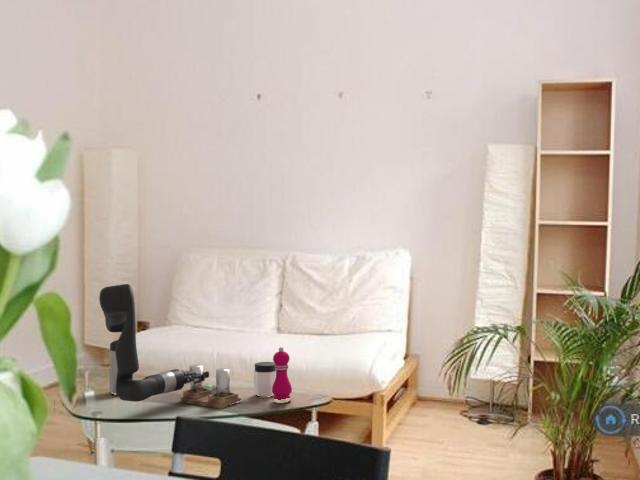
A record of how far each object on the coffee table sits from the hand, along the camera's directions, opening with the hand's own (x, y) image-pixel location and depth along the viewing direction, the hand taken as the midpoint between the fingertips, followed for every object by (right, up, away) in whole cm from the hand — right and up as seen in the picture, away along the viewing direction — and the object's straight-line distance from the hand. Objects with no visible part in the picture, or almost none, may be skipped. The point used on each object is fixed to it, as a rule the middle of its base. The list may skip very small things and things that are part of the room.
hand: (202, 373), depth 269 cm
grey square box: (+1, -9, +7) cm, 12 cm away
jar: (+24, -9, +4) cm, 26 cm away
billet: (-1, -8, -2) cm, 8 cm away
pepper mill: (+30, -9, -8) cm, 33 cm away
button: (+1, -9, +7) cm, 11 cm away
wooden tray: (+4, -9, -6) cm, 12 cm away
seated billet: (+9, -8, -10) cm, 15 cm away
